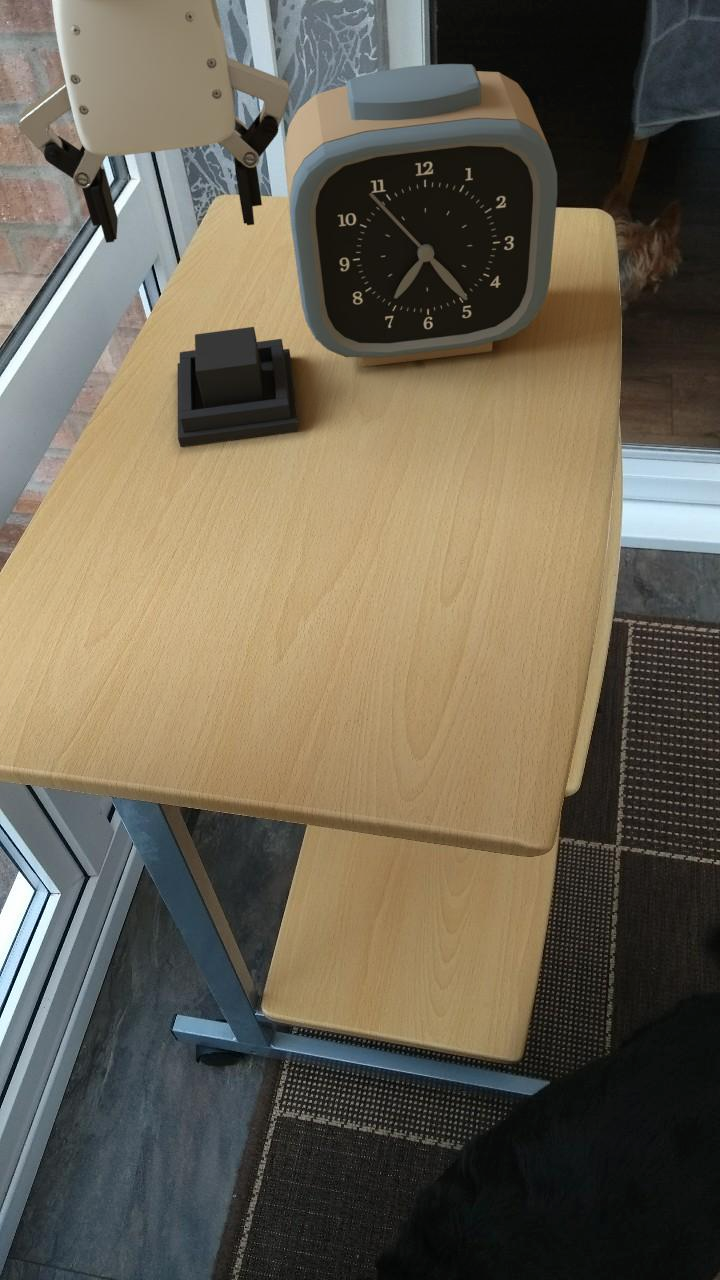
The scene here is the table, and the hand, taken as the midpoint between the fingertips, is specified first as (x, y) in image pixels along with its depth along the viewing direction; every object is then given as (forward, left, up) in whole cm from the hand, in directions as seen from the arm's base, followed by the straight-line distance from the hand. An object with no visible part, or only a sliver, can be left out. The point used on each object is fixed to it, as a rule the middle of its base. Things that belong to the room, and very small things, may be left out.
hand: (180, 223), depth 72 cm
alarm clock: (+18, +9, -19) cm, 27 cm away
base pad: (+1, +3, -18) cm, 19 cm away
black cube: (+1, +3, -17) cm, 18 cm away
